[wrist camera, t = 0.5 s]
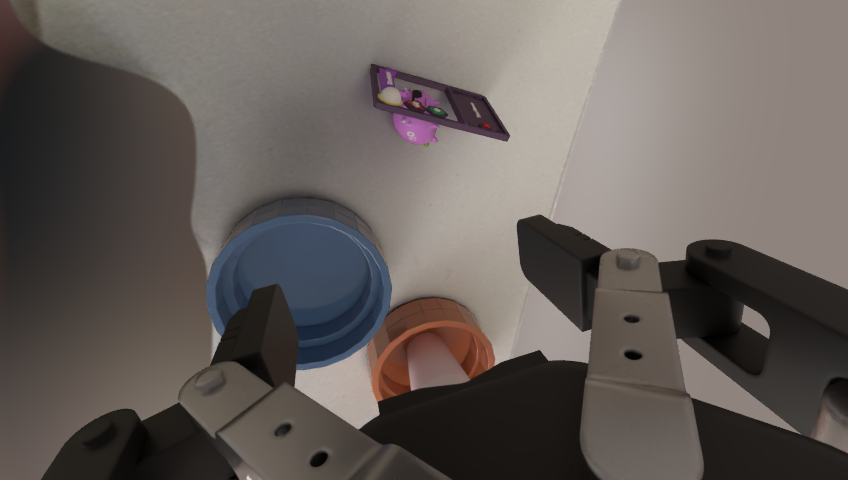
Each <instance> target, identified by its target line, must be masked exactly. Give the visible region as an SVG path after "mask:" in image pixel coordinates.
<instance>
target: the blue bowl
mask: <svg viewBox="0 0 848 480" xmlns="http://www.w3.org/2000/svg"><path fill="white" fill-rule="evenodd" d="M277 283H278V284H279V285H280V287H281V288H282V291H283V293H284V296H285V299H286V301H287V304H288V307H289V309H290V312H291V315H292V317H293V320H294V323H295V325H296V329H297V333H298V340H299V345H298V355H297V365H296V370H307V369H313V368H320V367H325V366H328V365H331V364H333V363H336V362H338V361H341V360H343V359H346V358H347V357H349V356H351V355H352V354H354V353H355V352H357V351H358V350H359V349H361V348H362V347H364V346H365V345H366V344H367V343H368V342H369V341H370V340H371V339H372V337H373V336H374V335H375V334H376V333H377V332H378V330H379V329H380V328H381V326H382V324H383V322H384V319H385V317H386V315H387V313H388V311H389V308H390V300H391V292H392V285H391V280H390V275H389V270H388V266H387V263H386V261H385V258H384V255H383V252H382V249H381V246H380V244H379V242H378V241H377V239H376V237H375V235H374V234H373V232H372V230H371V229H370V227H369V226H368V225H366V224H365V223H364V222H363V221H362V220H361V219H360V218H359V217H358V216H357V215H356V214H354V213H353V212H351V211H349V210H347V209H345V208H343V207H341V206H339V205H337V204H335V203H333V202H329V201H324V200H319V199H314V198H292V199H284V200H283V199H282V200H279V201H276V202H273V203H270V204H268V205H265V206H262V207H260V208H258V209H256V210H255V211H254V212H252V213H251V214H249V215H248V216H247V217H245V218H244V219H242V220H241V221H240V222H239V223H238V224H237V226H236V227H235V228H234V230H233V231H232V232H231V234H230V235H229V236H228V238H227V239H226V241H225V243H224V244H223V246H222V248H221V250H220V251H219V253H218V255H217V257H216V258H215V260H214V262H213V264H212V268H211V271H210V274H209V277H208V281H207V284H206V295H207V309H208V312H209V315H210V317H211V319H212V321H213V324H214V326H215V328H216V331H217V332H218V333H219V334H220V335H221V336H222V335H223V333H224V330H225V327H226V325H227V323H228V320H229V319H230V318H231V317H232V316H233V315H234V314H235V313H236V312H237V311H238V310H239V309H243V308H246V307H247V305H248V303H249V300H250V297H251V294H252V291H253V290H254V289H258V288H262V287H266V286H269V285H273V284H277Z"/></svg>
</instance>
